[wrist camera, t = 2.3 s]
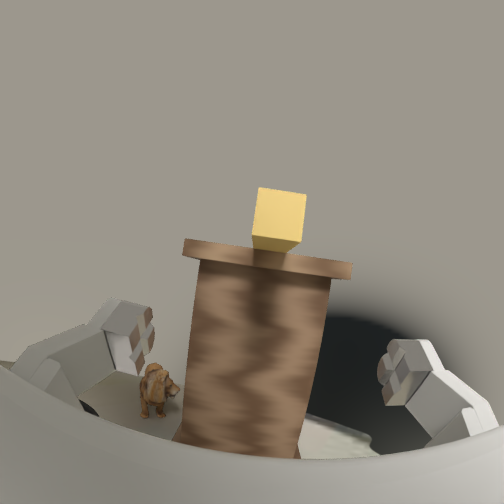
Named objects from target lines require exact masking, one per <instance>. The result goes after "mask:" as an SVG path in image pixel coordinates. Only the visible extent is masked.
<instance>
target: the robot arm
mask: <svg viewBox="0 0 504 504" xmlns="http://www.w3.org/2000/svg"><path fill="white" fill-rule="evenodd" d="M152 318H153V315H152V309H151V308H150V307H147V306H143V305H139V304H135V303H131V302H128V301H122V300H119V299H115V298H109V299H108V300H107V301H106V302H105V303H104V304H103V306H102V307H101V308H100V309H99V310H98V312H97V313H96V314H95V315H94V317H93V318H92V319H91V320H90V321H89V323H88V324H87V325H85V324H82V325H79V326H77V327H75V328H72V329H70V330H67V331H65V332H62V333H60V334H58V335H55V336H53V337H50V338H48V339H45V340H43V341H41V342H38V343H36V344H33V345H31V346H28V348H27V349H26V350H25V351H24V352H23V354H22V355H21V356H20V357H19V359H18V360H17V361H16V362H15V363H14V365H13V366H12V367H11V369H10V370H8V369H6V368H5V367H3V366H2V365H0V504H504V425H502V426H499V425H498V423H497V420H496V418H495V416H494V414H493V412H492V409H491V407H490V405H489V403H488V401H486V400H485V399H484V398H483V397H481V396H480V395H479V394H478V393H476V392H475V391H474V390H472V389H471V388H470V387H469V386H467V385H466V384H465V383H463V382H462V381H461V380H460V379H459V378H457V377H456V376H455V375H454V374H452V373H451V372H449V371H448V370H445V369H444V367H443V366H442V363H441V362H440V359H439V357H438V355H437V353H436V352H435V350H434V348H433V346H432V344H431V342H430V341H428V340H399V339H393V340H392V341H391V342H390V343H389V345H388V347H387V349H388V353H387V354H385V355H384V356H382V358H381V360H380V362H379V364H378V369H377V376H378V380H379V382H380V383H381V384H382V385H383V386H384V387H383V389H382V394H383V398H384V402H385V405H386V406H390V405H405V406H406V407H407V409H408V410H409V411H410V412H411V413H412V415H413V416H414V417H415V418H416V419H417V420H418V421H419V423H420V424H421V425H422V426H423V427H424V429H425V430H426V431H427V432H428V433H429V435H430V436H431V437H432V438H433V439H432V440H431V441H430V442H429V443H428V444H427V445H425V447H424V448H423V449H418V450H413V451H408V452H402V453H396V454H388V455H380V456H370V457H359V458H343V459H289V458H273V457H261V456H251V455H243V454H235V453H229V452H222V451H216V450H211V449H205V448H200V447H195V446H191V445H186V444H182V443H178V442H174V441H170V440H166V439H162V438H159V437H155V436H152V435H148V434H145V433H142V432H139V431H136V430H133V429H130V428H127V427H124V426H121V425H118V424H115V423H113V422H110V421H107V420H105V419H102V418H100V417H97V416H95V415H92V414H90V413H88V412H85V411H84V409H83V406H82V405H81V403H80V401H79V400H78V398H77V397H78V396H79V395H81V394H82V393H84V392H85V391H87V390H88V389H90V388H91V387H93V386H94V385H96V384H97V383H99V382H100V381H102V380H103V379H105V378H106V377H108V376H109V375H111V374H112V373H114V372H115V370H117V371H120V372H124V373H128V374H131V375H135V376H138V375H139V373H140V371H141V369H142V367H143V365H144V363H145V360H144V356H145V355H147V354H149V353H150V351H151V349H152V347H153V342H154V335H155V332H154V327H153V325H152V324H151V323H150V321H151V319H152Z"/></svg>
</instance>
